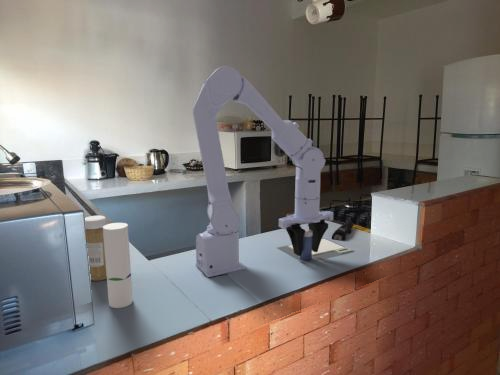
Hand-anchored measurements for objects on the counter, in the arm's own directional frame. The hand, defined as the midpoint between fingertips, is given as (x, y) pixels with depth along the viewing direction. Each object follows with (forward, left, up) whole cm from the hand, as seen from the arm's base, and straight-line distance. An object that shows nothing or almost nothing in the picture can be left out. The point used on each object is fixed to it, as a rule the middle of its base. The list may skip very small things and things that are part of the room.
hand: (305, 252), depth 92 cm
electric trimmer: (+22, +11, -3) cm, 25 cm away
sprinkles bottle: (-45, +14, -2) cm, 47 cm away
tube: (-43, 0, -2) cm, 43 cm away
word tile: (+12, 0, -2) cm, 12 cm away
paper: (+7, +5, -2) cm, 9 cm away
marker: (0, 0, -2) cm, 2 cm away
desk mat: (+6, +4, -2) cm, 7 cm away
